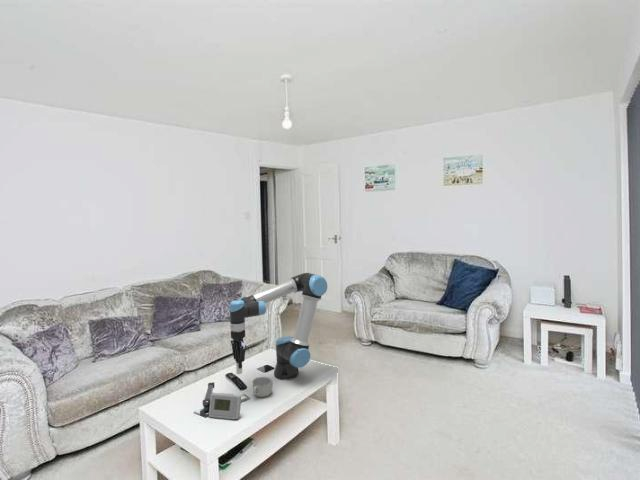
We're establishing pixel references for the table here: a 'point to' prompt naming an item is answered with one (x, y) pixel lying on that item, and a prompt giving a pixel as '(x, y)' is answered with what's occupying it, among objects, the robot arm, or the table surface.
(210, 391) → the swing arm
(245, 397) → the label plate
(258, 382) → the teacup
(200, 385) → the table surface
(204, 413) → the pivot post
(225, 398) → the digital clock
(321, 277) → the robot arm
